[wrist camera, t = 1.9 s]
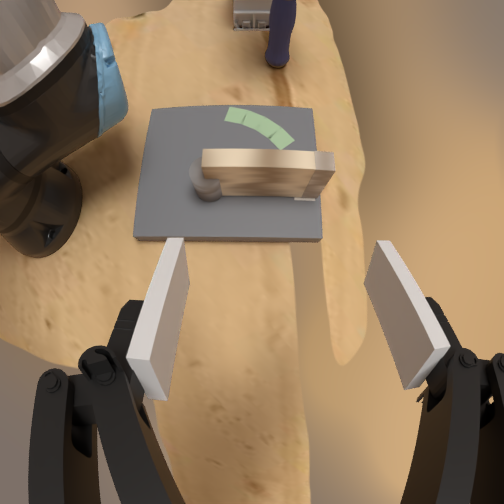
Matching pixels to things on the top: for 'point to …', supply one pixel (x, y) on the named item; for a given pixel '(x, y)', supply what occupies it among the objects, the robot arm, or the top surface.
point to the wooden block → (261, 173)
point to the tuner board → (227, 207)
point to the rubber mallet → (280, 31)
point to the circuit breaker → (251, 15)
